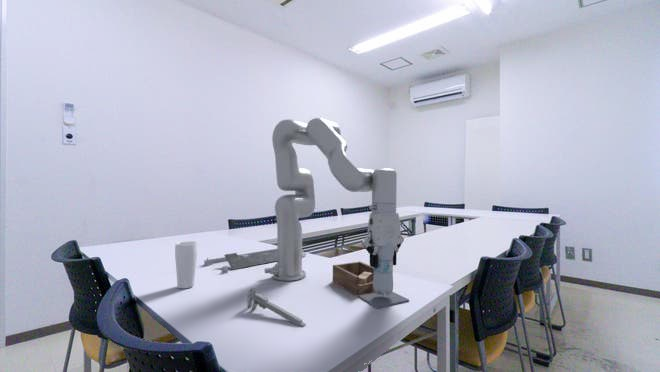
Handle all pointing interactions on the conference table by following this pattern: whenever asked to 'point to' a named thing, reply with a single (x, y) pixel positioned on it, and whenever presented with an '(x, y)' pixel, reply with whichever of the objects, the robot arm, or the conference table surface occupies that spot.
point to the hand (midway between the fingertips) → (383, 265)
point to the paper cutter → (245, 259)
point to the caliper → (270, 307)
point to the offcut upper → (365, 277)
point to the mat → (383, 299)
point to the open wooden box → (352, 277)
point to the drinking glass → (185, 263)
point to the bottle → (384, 270)
